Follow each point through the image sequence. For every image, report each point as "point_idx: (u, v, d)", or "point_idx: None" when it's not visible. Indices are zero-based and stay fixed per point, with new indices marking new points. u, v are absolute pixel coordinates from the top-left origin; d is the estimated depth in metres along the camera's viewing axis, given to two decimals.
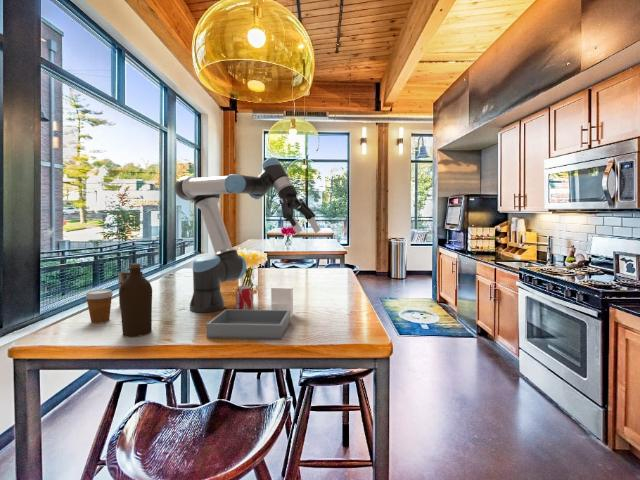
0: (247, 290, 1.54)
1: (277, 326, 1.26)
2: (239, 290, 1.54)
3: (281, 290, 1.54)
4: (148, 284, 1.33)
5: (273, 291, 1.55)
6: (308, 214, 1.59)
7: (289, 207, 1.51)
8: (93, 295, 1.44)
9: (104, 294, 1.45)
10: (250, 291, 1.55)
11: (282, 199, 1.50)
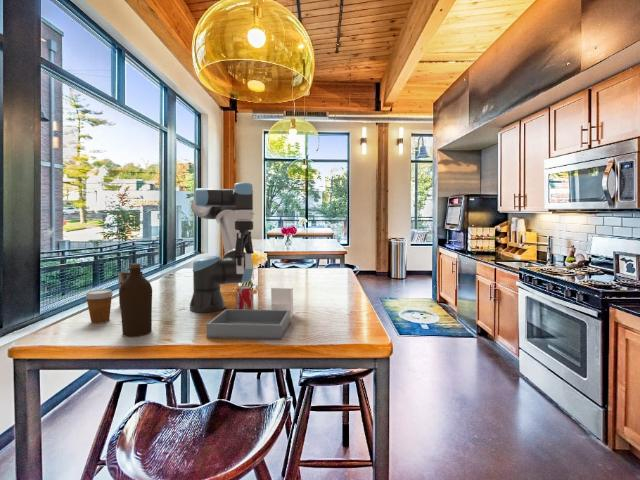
0: (247, 290, 1.54)
1: (277, 326, 1.26)
2: (239, 290, 1.54)
3: (281, 290, 1.54)
4: (148, 284, 1.33)
5: (273, 291, 1.55)
6: (249, 249, 1.62)
7: None
8: (93, 295, 1.44)
9: (104, 294, 1.45)
10: (250, 291, 1.55)
11: (240, 235, 1.49)
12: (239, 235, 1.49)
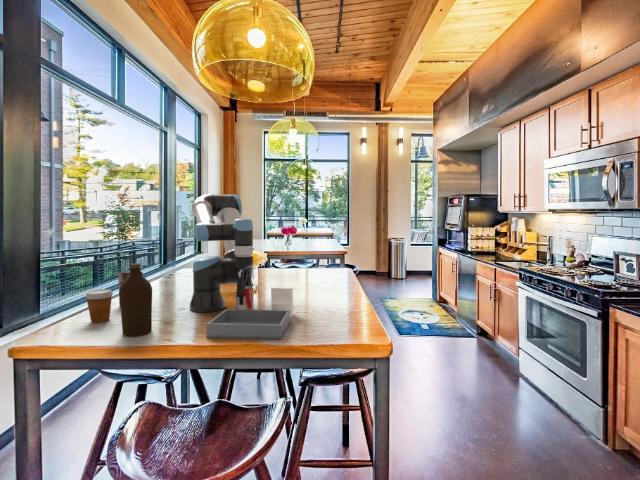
0: (247, 290, 1.55)
1: (277, 326, 1.26)
2: None
3: (281, 290, 1.54)
4: (148, 284, 1.33)
5: (273, 291, 1.55)
6: None
7: None
8: (93, 295, 1.44)
9: (104, 294, 1.45)
10: (250, 291, 1.55)
11: (240, 274, 1.50)
12: (239, 275, 1.50)
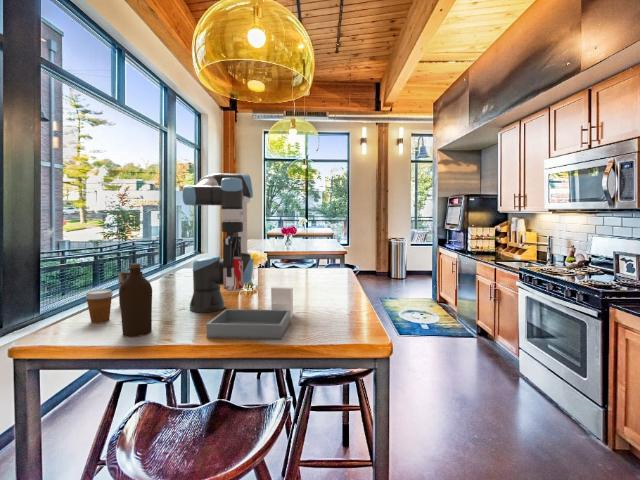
0: (236, 260, 1.34)
1: (277, 326, 1.26)
2: None
3: (281, 290, 1.54)
4: (148, 284, 1.33)
5: (273, 291, 1.55)
6: None
7: None
8: (93, 295, 1.44)
9: (104, 294, 1.45)
10: (240, 262, 1.34)
11: (228, 241, 1.29)
12: (226, 242, 1.29)
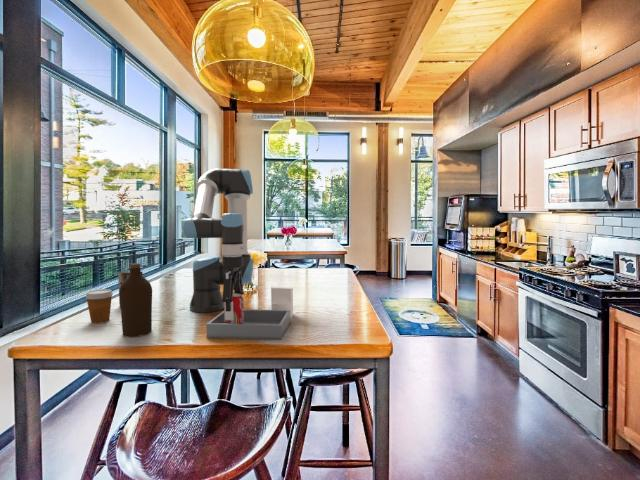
0: (237, 298, 1.35)
1: (277, 326, 1.26)
2: None
3: (281, 290, 1.54)
4: (148, 284, 1.33)
5: (273, 291, 1.55)
6: (238, 289, 1.41)
7: None
8: (93, 295, 1.44)
9: (104, 294, 1.45)
10: (240, 299, 1.36)
11: (228, 276, 1.29)
12: (227, 276, 1.29)
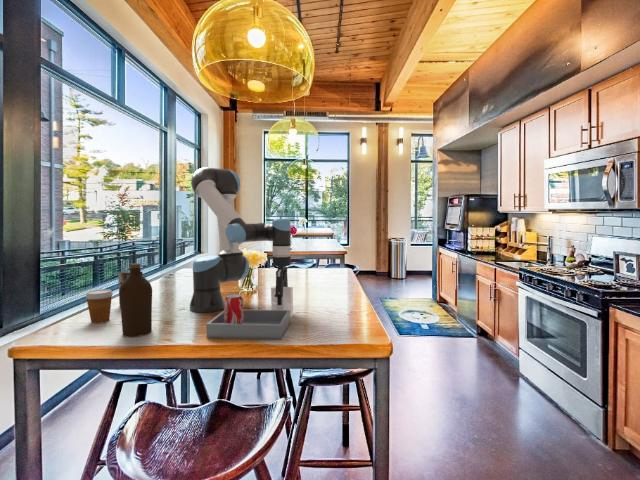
0: (237, 299, 1.34)
1: (277, 326, 1.26)
2: (227, 299, 1.34)
3: None
4: (148, 284, 1.33)
5: (273, 291, 1.55)
6: (285, 286, 1.60)
7: None
8: (93, 295, 1.44)
9: (104, 294, 1.45)
10: (240, 300, 1.35)
11: (280, 274, 1.48)
12: (278, 274, 1.49)
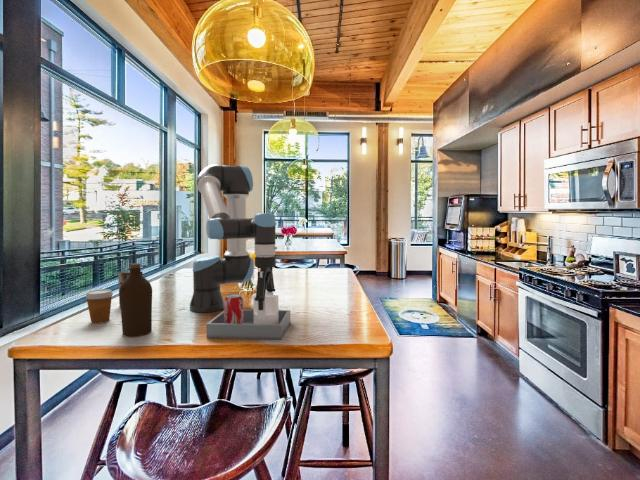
0: (236, 299, 1.34)
1: (277, 326, 1.26)
2: (227, 299, 1.34)
3: (265, 299, 1.34)
4: (148, 284, 1.33)
5: None
6: (270, 287, 1.42)
7: None
8: (93, 295, 1.44)
9: (104, 294, 1.45)
10: (240, 300, 1.35)
11: (262, 274, 1.28)
12: (260, 274, 1.28)
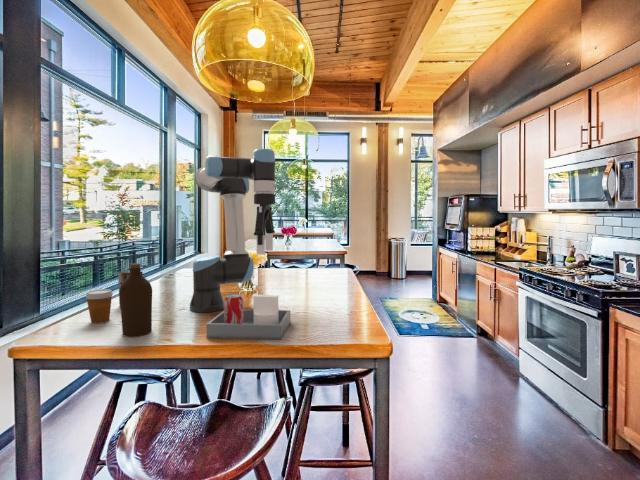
0: (236, 299, 1.34)
1: (277, 326, 1.26)
2: (227, 299, 1.34)
3: (265, 299, 1.34)
4: (148, 284, 1.33)
5: (256, 300, 1.35)
6: (269, 228, 1.40)
7: None
8: (93, 295, 1.44)
9: (104, 294, 1.45)
10: (240, 300, 1.35)
11: (261, 209, 1.27)
12: (260, 209, 1.27)
